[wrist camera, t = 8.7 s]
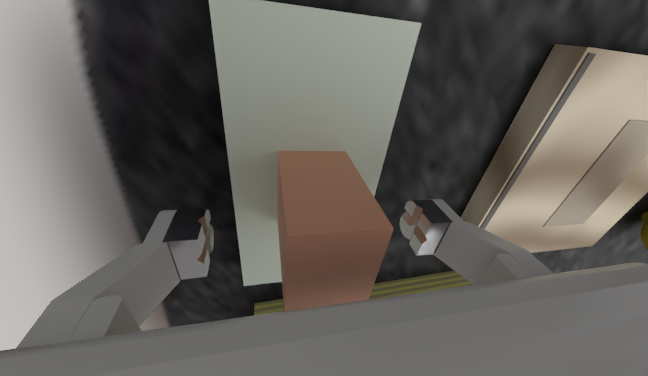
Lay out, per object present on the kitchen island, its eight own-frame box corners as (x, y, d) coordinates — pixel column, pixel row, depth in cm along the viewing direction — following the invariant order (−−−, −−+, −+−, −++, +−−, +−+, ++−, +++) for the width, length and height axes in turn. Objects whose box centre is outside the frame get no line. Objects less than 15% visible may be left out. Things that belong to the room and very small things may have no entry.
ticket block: (574, 233, 23) (593, 246, 21) (445, 245, 20) (457, 261, 18) (728, 68, 15) (771, 73, 14) (554, 44, 12) (589, 47, 11)
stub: (347, 256, 18) (382, 356, 12) (245, 265, 16) (236, 386, 11) (402, 22, 10) (558, 28, 5) (215, -5, 8) (136, -40, 3)
